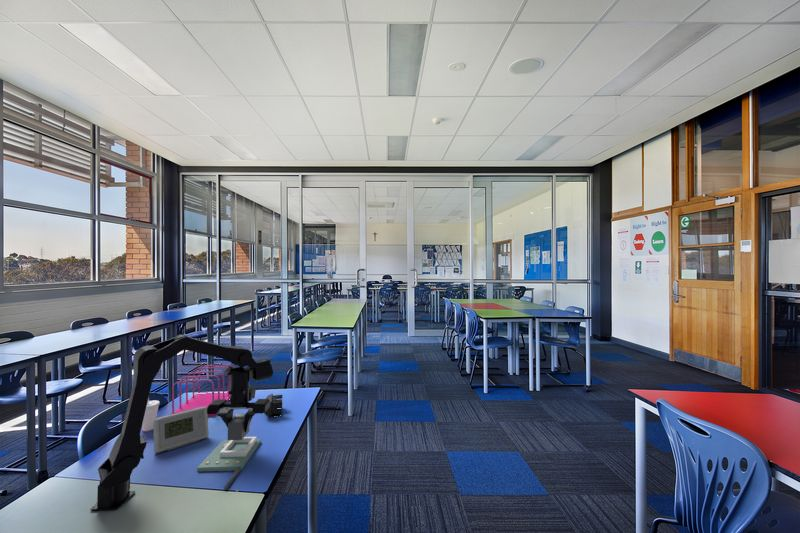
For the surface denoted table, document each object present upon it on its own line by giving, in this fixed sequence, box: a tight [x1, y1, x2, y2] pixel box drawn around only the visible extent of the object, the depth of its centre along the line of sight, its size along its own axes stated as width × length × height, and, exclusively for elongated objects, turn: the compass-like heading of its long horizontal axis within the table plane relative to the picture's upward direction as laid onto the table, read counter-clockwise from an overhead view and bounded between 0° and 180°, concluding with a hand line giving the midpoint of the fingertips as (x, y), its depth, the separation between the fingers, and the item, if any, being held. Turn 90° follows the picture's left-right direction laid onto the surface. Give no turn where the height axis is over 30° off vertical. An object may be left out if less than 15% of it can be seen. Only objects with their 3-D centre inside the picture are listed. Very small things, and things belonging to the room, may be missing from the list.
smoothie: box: [141, 397, 160, 432], centre depth 122 cm, size 6×6×14 cm
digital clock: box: [153, 407, 210, 454], centre depth 112 cm, size 16×9×11 cm, turn 122°
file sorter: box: [170, 364, 235, 418], centre depth 144 cm, size 17×25×16 cm
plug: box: [227, 413, 250, 440], centre depth 107 cm, size 6×4×6 cm
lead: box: [223, 467, 242, 490], centre depth 94 cm, size 12×1×1 cm, turn 4°
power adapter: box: [263, 393, 283, 418], centre depth 137 cm, size 10×7×7 cm
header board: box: [196, 436, 262, 473], centre depth 105 cm, size 16×13×3 cm
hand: (238, 431), depth 107 cm, fingers closed on plug, 4 cm apart
